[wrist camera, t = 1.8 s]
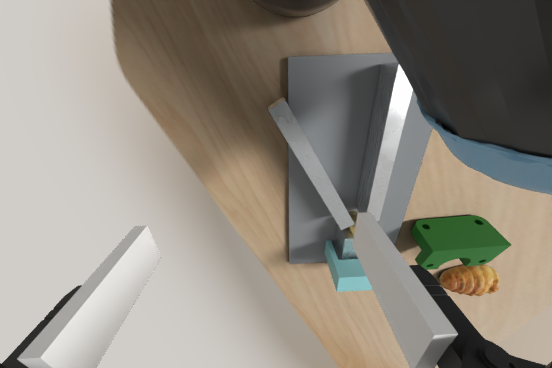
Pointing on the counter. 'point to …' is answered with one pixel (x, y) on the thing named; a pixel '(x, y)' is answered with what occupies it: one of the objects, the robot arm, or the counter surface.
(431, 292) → the robot arm
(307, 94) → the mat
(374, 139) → the tongs body
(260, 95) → the counter surface
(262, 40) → the counter surface
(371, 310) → the counter surface
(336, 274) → the collar
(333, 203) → the arm
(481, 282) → the pastry
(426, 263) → the clamp
